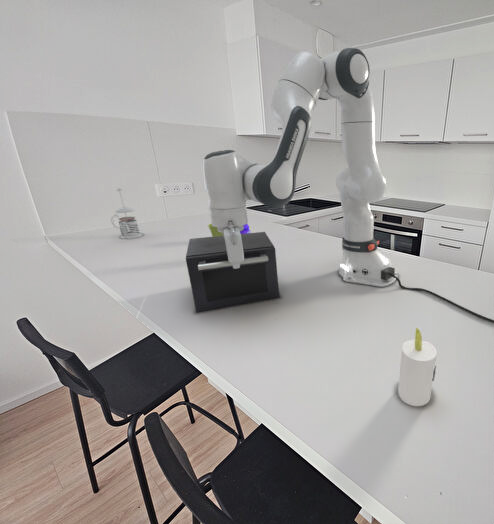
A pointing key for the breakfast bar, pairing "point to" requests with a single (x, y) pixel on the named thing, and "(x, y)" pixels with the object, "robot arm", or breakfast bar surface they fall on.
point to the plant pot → (214, 231)
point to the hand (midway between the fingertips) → (236, 267)
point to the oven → (218, 244)
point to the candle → (417, 371)
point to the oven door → (233, 279)
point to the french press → (127, 223)
